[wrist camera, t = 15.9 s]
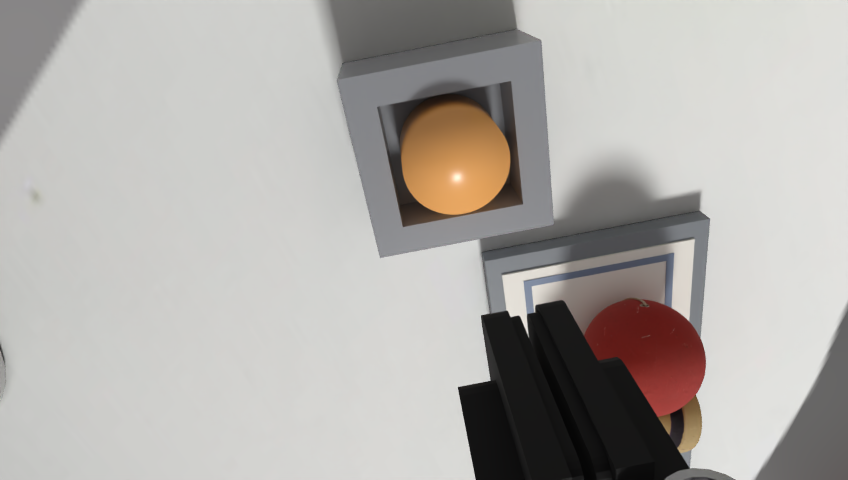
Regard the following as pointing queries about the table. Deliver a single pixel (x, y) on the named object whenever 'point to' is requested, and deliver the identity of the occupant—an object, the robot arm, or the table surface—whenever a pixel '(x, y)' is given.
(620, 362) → the robot arm
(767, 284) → the table surface
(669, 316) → the kendama
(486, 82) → the button housing
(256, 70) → the table surface
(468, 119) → the button
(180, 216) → the table surface
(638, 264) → the picture frame
